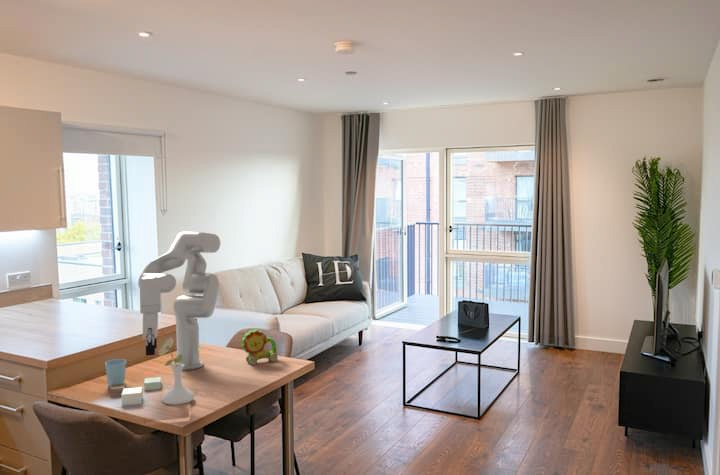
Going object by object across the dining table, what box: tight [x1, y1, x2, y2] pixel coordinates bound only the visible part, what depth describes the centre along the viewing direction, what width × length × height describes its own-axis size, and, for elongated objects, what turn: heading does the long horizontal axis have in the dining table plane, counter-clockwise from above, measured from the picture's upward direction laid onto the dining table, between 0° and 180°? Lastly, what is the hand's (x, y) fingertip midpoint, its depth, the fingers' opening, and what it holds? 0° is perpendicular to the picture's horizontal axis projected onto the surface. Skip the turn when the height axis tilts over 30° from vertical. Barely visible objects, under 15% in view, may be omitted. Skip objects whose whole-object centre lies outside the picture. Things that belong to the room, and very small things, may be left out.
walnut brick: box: [109, 382, 127, 397], centre depth 213 cm, size 5×5×4 cm
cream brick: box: [120, 386, 144, 405], centre depth 205 cm, size 6×6×4 cm
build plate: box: [115, 394, 149, 409], centre depth 206 cm, size 10×10×1 cm
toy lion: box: [241, 329, 278, 366], centre depth 256 cm, size 16×5×15 cm, turn 120°
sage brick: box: [143, 376, 162, 391], centre depth 221 cm, size 6×6×4 cm
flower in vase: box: [157, 336, 195, 406], centre depth 206 cm, size 13×11×25 cm
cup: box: [104, 358, 127, 388], centre depth 222 cm, size 8×8×10 cm
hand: (151, 351), depth 219 cm, fingers open, 9 cm apart
